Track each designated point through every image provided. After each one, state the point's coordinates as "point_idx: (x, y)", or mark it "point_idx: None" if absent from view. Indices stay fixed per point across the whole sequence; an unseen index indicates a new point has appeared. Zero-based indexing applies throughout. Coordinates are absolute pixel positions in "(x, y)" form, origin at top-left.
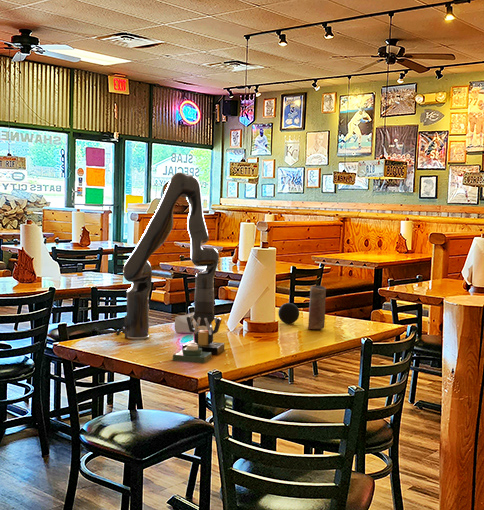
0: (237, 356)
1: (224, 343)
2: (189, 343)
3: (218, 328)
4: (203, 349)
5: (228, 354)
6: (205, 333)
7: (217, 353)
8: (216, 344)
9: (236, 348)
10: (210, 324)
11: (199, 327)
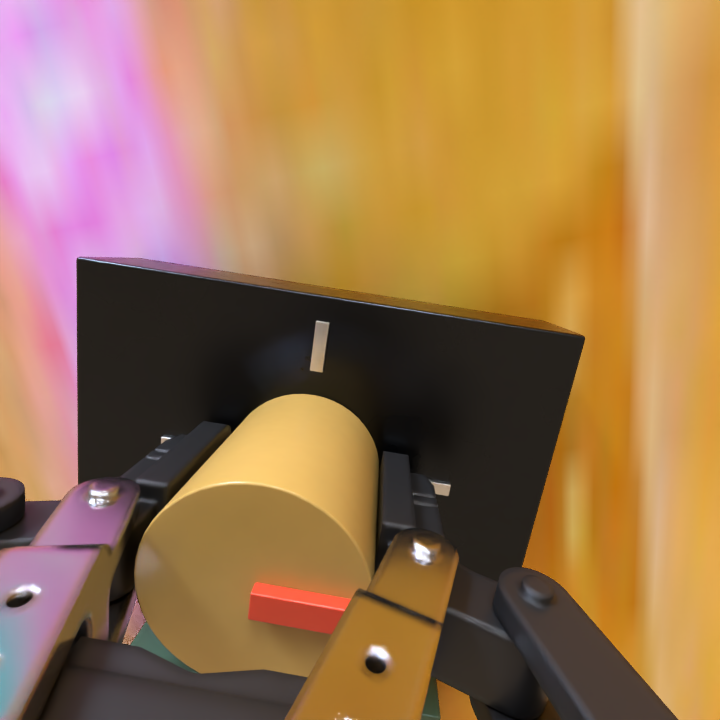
0: (687, 567)
1: (583, 341)
2: (123, 454)
3: (613, 688)
4: None
5: (593, 497)
6: (310, 662)
7: None
8: (475, 458)
9: (704, 159)
10: (385, 713)
11: (104, 627)
